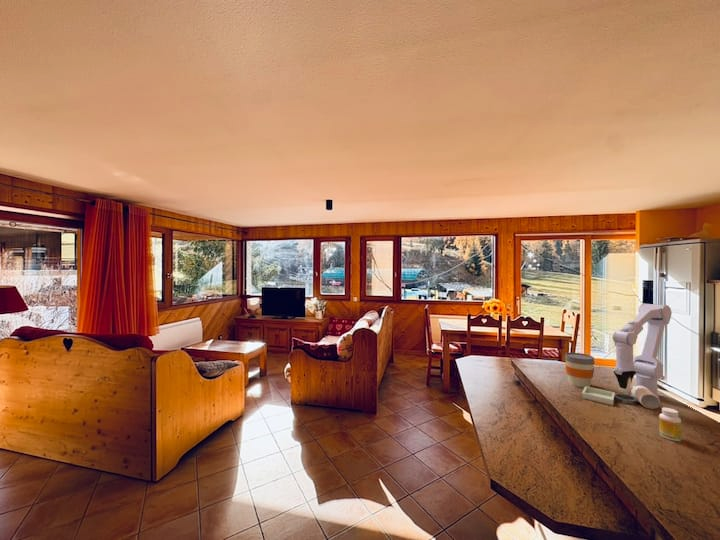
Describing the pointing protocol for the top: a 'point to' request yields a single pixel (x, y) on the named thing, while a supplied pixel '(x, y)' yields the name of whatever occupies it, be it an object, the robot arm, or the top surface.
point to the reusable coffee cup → (579, 369)
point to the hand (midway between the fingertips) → (625, 387)
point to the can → (645, 397)
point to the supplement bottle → (670, 424)
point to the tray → (598, 395)
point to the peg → (628, 389)
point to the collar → (631, 400)
